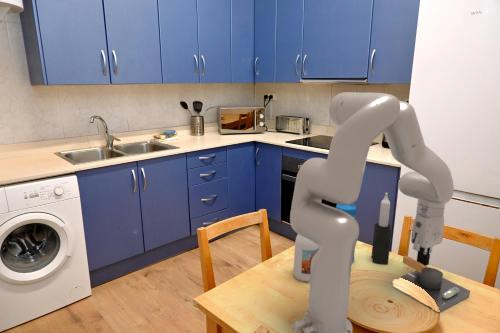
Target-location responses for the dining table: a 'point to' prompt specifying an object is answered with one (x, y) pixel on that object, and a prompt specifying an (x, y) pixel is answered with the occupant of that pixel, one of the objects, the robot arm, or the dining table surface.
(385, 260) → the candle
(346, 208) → the beverage bottle
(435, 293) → the base
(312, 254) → the milk bottle
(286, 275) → the dining table surface
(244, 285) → the dining table surface
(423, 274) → the grey rubber mallet
